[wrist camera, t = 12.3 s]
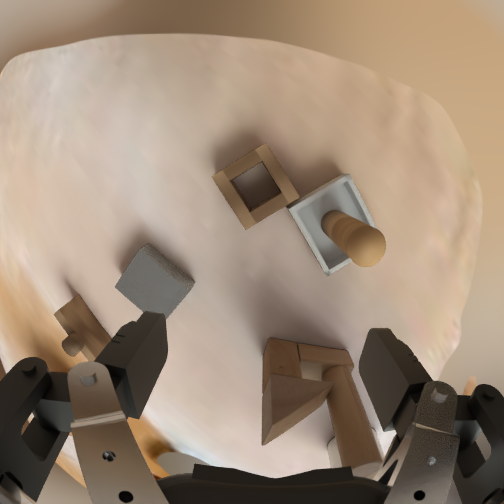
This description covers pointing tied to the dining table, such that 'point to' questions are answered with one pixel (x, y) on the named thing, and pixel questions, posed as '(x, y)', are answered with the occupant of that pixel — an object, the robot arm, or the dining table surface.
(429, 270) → the dining table surface
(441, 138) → the dining table surface
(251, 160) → the socket block
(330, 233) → the dowel
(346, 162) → the dining table surface
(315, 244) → the tray
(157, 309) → the grey rectangular block
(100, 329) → the block
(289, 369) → the tan angled wooden part
